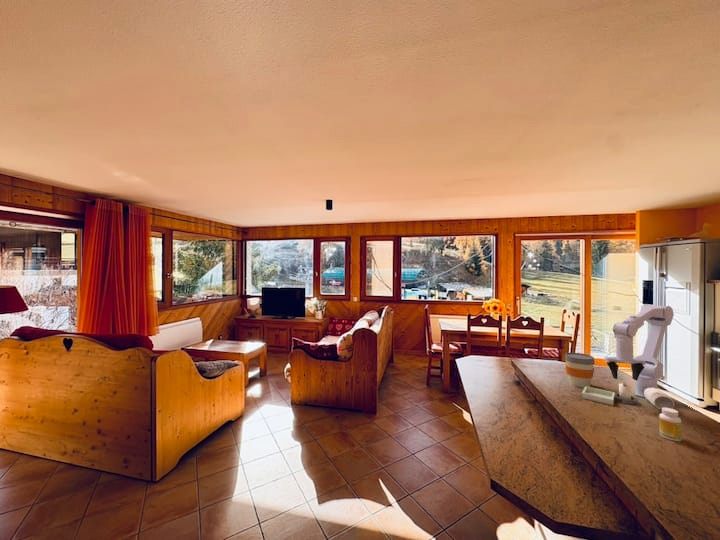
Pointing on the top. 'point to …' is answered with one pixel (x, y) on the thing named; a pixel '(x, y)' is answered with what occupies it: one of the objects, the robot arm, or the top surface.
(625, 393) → the peg
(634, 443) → the top surface
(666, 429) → the supplement bottle
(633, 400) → the collar
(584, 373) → the reusable coffee cup
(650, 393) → the can
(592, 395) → the tray
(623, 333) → the robot arm
